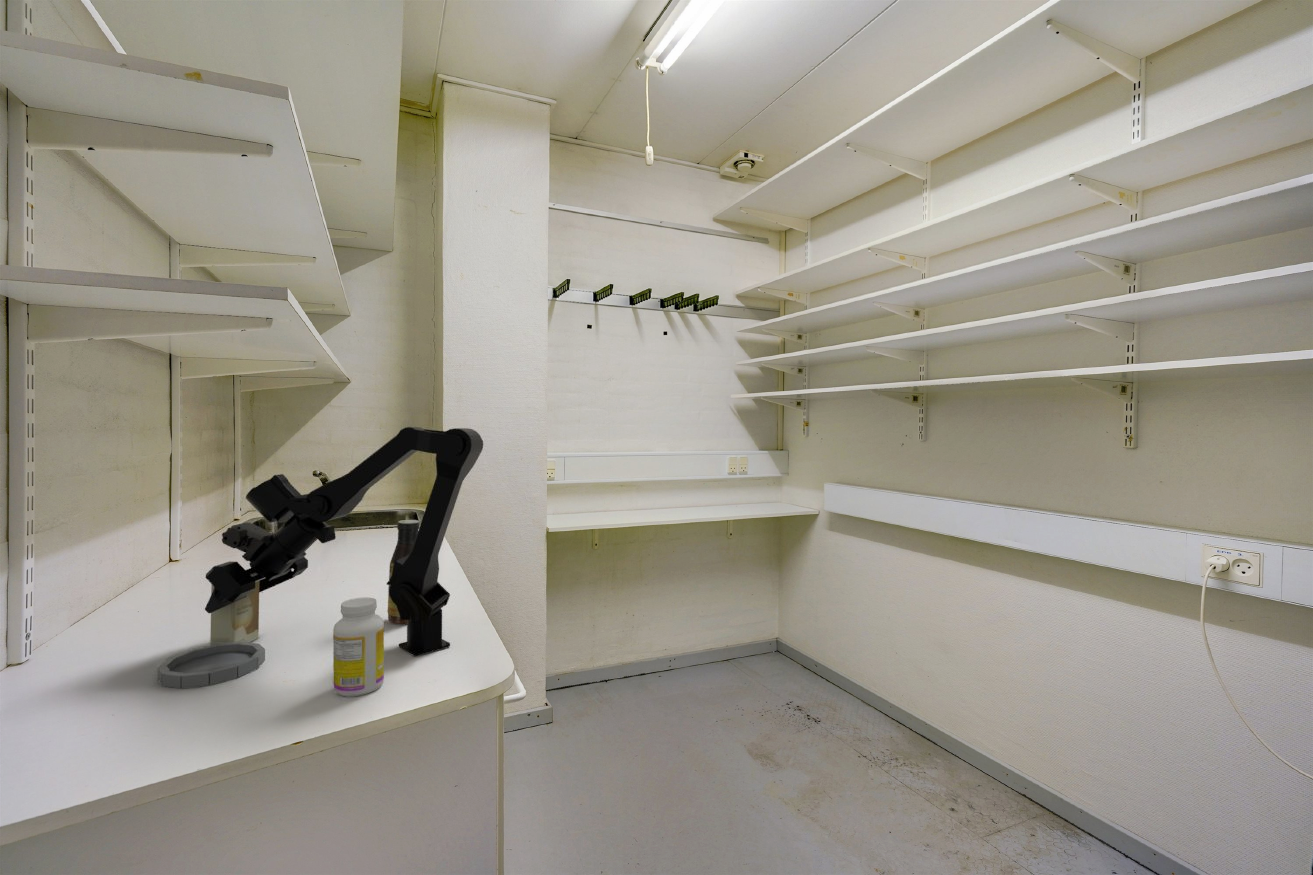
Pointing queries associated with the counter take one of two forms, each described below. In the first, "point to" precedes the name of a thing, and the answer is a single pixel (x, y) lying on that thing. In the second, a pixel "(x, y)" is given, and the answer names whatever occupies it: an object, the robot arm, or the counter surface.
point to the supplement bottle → (358, 648)
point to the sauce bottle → (403, 549)
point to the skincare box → (236, 620)
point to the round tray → (211, 664)
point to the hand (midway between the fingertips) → (228, 602)
